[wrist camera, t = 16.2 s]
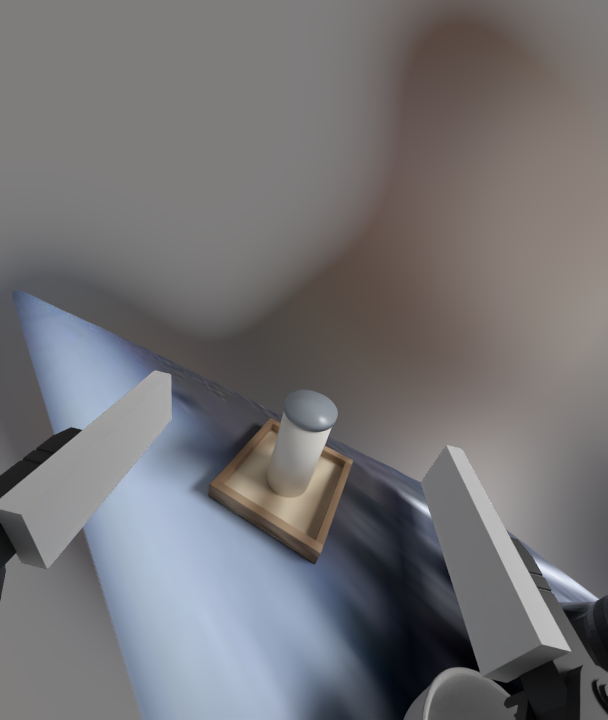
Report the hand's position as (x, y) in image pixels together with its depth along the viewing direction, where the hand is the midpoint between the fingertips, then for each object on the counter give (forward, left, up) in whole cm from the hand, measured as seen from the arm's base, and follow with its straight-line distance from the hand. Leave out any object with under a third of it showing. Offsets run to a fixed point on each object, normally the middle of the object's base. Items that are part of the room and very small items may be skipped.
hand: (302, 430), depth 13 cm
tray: (-2, -18, -27) cm, 32 cm away
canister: (-2, -18, -26) cm, 31 cm away
